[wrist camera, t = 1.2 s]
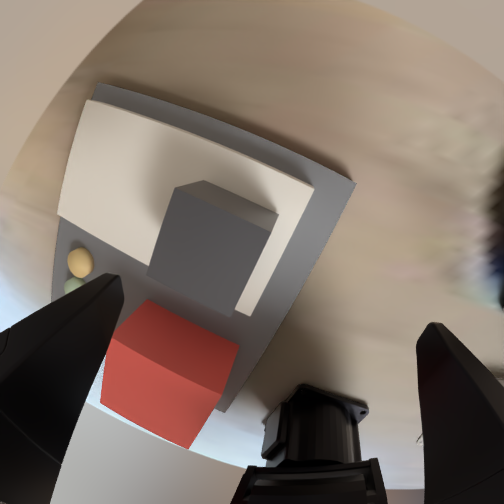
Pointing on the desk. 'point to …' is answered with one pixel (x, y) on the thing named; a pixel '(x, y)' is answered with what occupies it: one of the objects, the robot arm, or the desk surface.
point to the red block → (165, 373)
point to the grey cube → (210, 244)
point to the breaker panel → (186, 306)
